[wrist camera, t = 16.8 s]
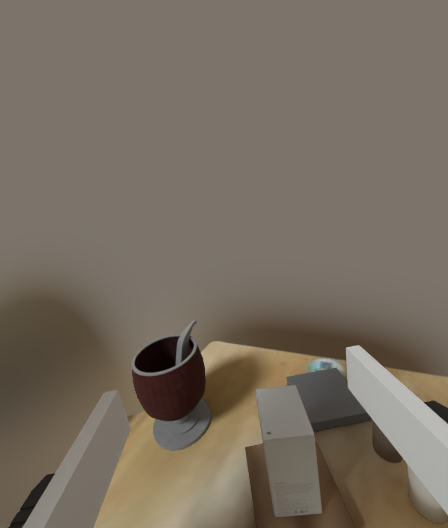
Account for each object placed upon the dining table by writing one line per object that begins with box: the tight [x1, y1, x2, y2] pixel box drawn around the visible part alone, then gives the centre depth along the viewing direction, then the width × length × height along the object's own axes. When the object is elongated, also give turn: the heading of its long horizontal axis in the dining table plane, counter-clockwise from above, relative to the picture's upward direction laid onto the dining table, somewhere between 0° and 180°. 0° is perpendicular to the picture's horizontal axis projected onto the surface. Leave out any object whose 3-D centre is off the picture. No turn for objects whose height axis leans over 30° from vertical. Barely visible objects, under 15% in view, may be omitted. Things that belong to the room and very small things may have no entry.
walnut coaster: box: [245, 440, 356, 528], centre depth 33 cm, size 12×12×2 cm
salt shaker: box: [408, 465, 448, 524], centre depth 29 cm, size 4×4×8 cm
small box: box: [256, 385, 322, 517], centre depth 31 cm, size 8×6×13 cm
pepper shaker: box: [372, 419, 403, 463], centre depth 35 cm, size 4×4×8 cm
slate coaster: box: [286, 368, 372, 431], centre depth 47 cm, size 12×12×2 cm
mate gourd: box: [131, 320, 211, 451], centre depth 46 cm, size 16×14×20 cm
